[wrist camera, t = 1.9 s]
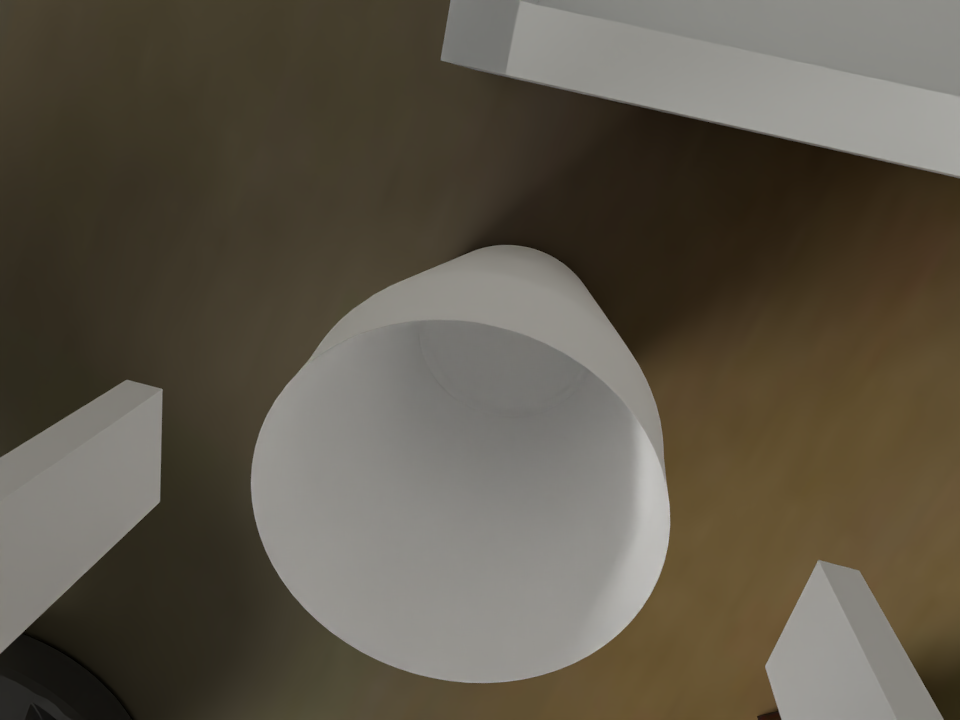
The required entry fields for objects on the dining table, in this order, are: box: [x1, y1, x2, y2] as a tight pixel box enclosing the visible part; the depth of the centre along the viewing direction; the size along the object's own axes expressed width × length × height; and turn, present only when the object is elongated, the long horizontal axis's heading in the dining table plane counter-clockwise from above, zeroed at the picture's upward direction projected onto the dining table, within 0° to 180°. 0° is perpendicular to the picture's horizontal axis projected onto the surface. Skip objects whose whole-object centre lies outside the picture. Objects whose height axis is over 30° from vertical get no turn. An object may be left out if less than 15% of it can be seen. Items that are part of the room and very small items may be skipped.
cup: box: [251, 245, 670, 683], centre depth 19 cm, size 9×9×12 cm
